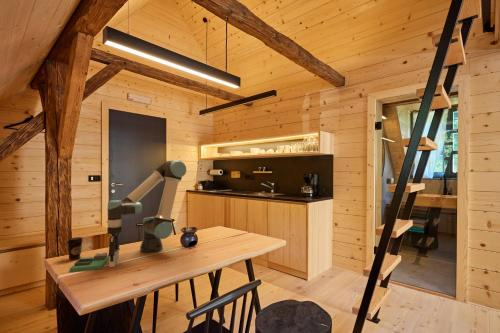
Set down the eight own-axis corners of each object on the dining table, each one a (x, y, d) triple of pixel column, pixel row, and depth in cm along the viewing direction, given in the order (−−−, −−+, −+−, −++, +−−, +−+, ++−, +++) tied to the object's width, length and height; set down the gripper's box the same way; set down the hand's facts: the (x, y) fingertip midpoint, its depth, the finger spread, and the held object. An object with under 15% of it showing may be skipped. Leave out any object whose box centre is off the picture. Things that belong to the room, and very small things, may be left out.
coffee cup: (86, 257, 172) (86, 237, 172) (74, 261, 164) (74, 240, 164) (75, 256, 175) (75, 236, 175) (63, 260, 167) (63, 239, 167)
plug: (119, 262, 163) (119, 249, 163) (117, 264, 159) (117, 250, 159) (111, 263, 161) (111, 249, 162) (109, 265, 158) (109, 251, 158)
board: (109, 259, 169) (109, 251, 169) (101, 269, 152) (101, 260, 152) (80, 261, 165) (80, 253, 165) (69, 271, 148) (69, 262, 148)
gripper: (111, 223, 170) (111, 258, 170) (102, 230, 149) (102, 271, 148) (124, 222, 172) (124, 257, 172) (117, 229, 151) (117, 269, 150)
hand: (113, 263), depth 160 cm, fingers open, 9 cm apart
